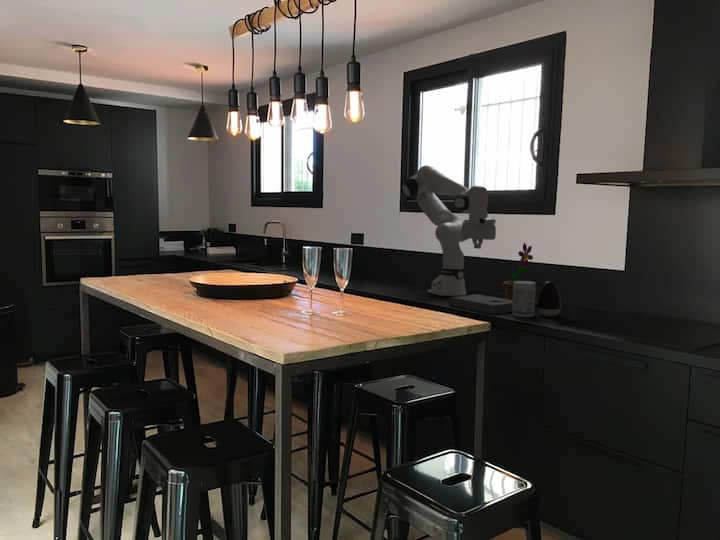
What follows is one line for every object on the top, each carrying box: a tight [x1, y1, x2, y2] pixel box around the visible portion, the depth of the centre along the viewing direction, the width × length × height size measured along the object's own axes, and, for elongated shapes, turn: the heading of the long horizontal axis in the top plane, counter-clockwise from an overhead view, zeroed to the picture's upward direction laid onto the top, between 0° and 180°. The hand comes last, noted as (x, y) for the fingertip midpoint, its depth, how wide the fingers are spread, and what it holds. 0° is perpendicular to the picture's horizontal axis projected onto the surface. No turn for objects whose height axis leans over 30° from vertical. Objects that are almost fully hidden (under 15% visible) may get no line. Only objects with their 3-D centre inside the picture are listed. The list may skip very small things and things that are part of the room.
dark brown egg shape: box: [536, 280, 562, 318], centre depth 255 cm, size 10×10×15 cm
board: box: [449, 294, 513, 315], centre depth 275 cm, size 28×18×4 cm, turn 33°
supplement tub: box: [511, 280, 537, 318], centre depth 255 cm, size 10×10×15 cm
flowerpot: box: [502, 242, 534, 300], centre depth 287 cm, size 14×14×30 cm
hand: (477, 248), depth 284 cm, fingers closed
